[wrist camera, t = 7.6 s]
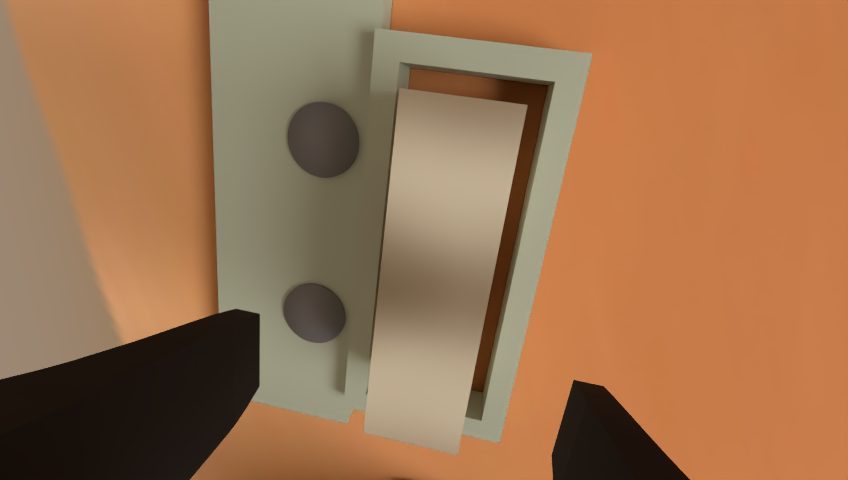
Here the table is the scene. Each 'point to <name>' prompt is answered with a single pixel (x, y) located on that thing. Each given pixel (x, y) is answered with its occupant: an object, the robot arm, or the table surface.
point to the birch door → (438, 261)
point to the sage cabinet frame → (350, 187)
